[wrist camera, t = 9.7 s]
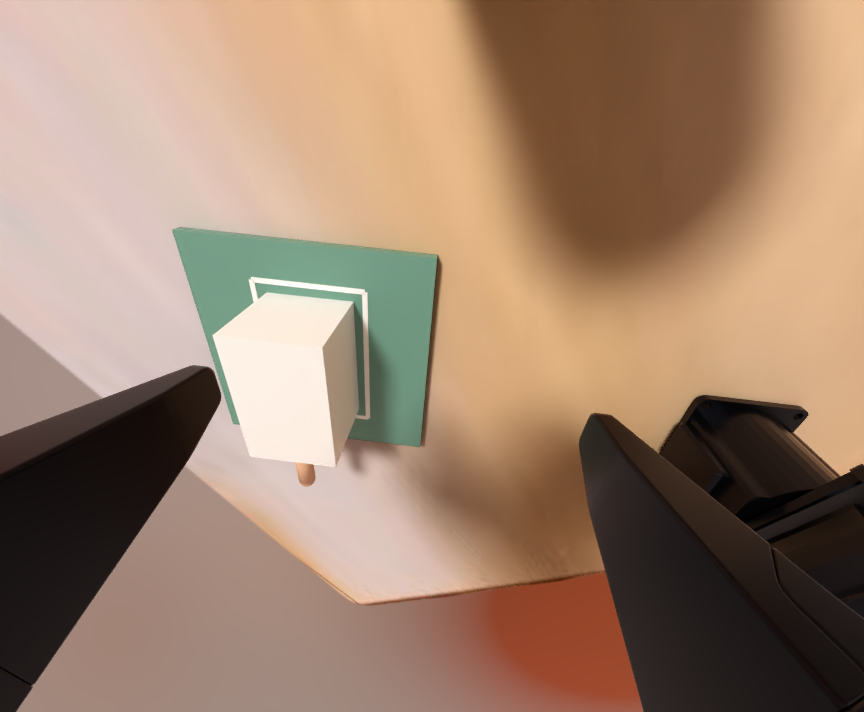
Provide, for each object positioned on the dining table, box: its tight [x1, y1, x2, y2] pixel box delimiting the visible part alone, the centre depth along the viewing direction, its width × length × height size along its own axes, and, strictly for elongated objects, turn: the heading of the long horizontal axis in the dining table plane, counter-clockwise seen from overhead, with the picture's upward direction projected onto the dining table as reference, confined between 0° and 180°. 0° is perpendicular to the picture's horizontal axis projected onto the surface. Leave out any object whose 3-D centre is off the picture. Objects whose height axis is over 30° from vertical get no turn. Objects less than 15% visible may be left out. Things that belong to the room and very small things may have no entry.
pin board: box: [172, 227, 438, 447], centre depth 21 cm, size 14×14×3 cm
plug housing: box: [212, 292, 359, 486], centre depth 21 cm, size 5×12×5 cm, turn 176°
